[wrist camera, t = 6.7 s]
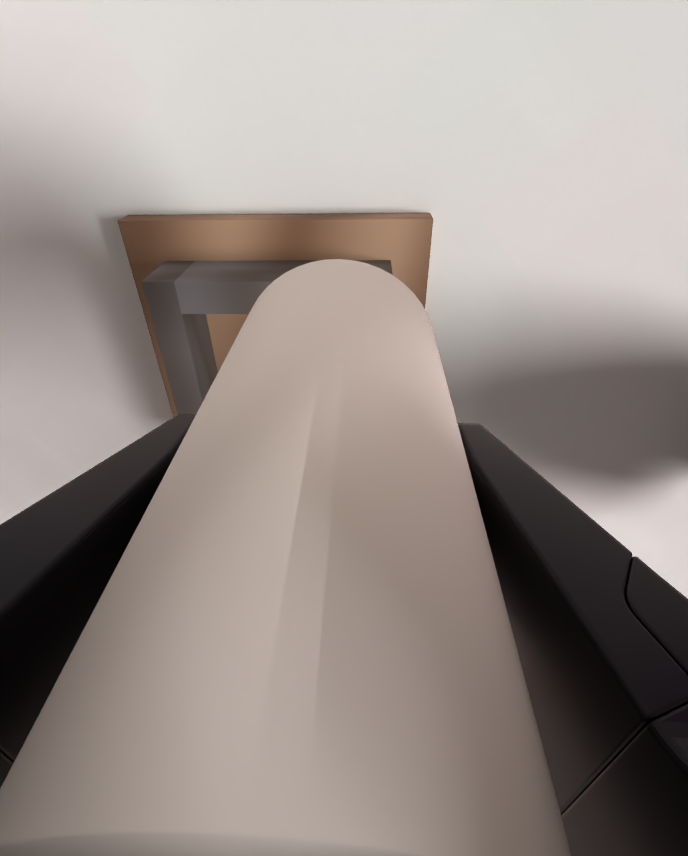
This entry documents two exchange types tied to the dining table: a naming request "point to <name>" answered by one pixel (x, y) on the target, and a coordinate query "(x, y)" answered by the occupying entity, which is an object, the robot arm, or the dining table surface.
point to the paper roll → (300, 621)
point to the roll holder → (246, 276)
